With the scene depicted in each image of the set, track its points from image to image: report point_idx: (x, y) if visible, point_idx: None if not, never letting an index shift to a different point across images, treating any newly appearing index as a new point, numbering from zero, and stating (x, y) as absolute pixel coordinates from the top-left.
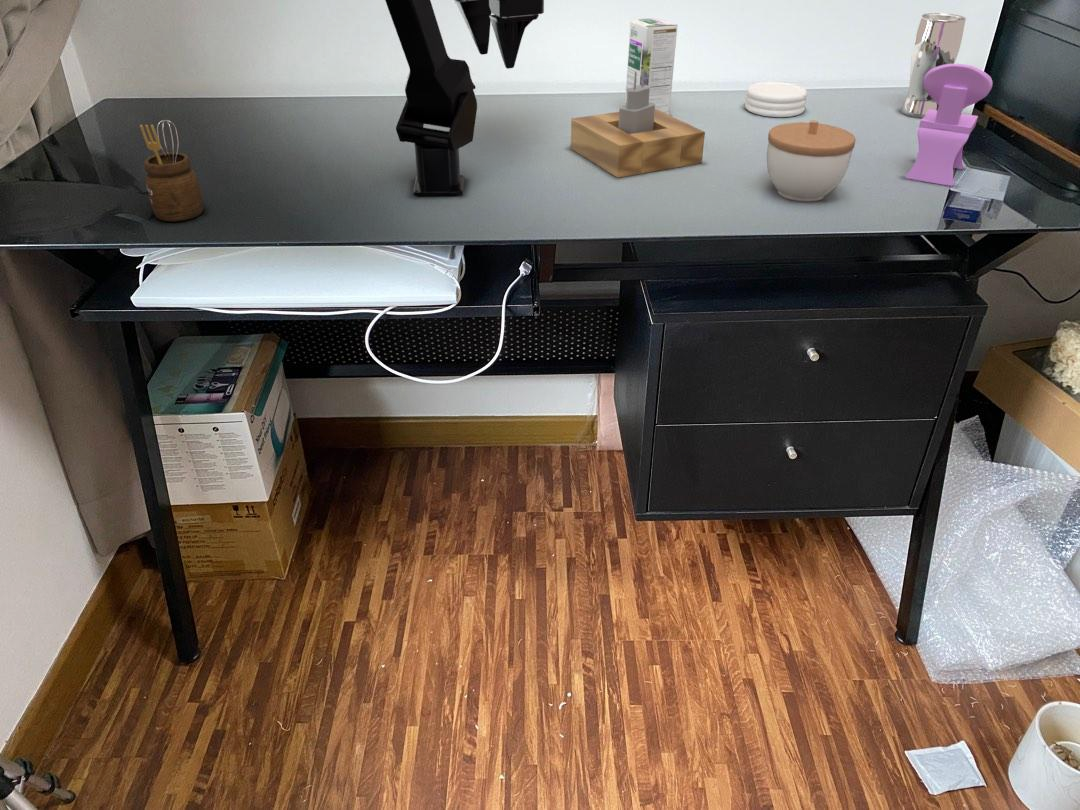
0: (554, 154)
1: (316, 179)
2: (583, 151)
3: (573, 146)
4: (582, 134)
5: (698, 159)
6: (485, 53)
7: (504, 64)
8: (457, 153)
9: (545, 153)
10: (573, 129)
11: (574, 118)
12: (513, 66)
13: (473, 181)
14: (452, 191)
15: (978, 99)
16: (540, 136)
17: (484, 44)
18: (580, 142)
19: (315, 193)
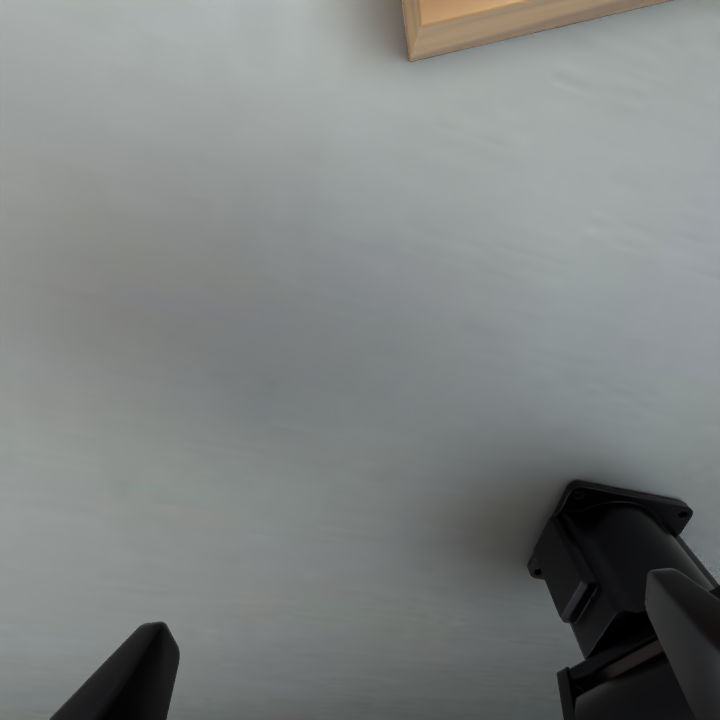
0: (453, 156)
1: (440, 706)
2: (532, 28)
3: (436, 52)
4: (542, 9)
5: None
6: (169, 633)
7: (662, 641)
8: (704, 581)
9: (430, 189)
10: (442, 33)
11: (428, 6)
12: (681, 576)
13: (595, 459)
14: (679, 528)
15: None
16: (221, 150)
17: (139, 707)
18: (511, 27)
19: (518, 712)
